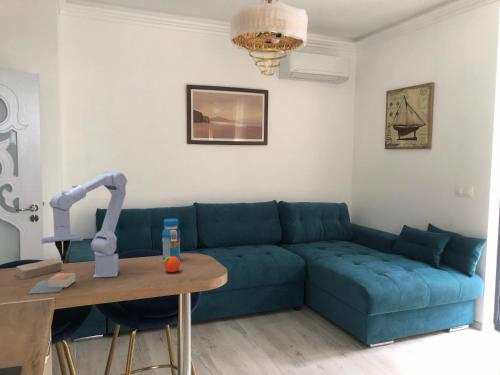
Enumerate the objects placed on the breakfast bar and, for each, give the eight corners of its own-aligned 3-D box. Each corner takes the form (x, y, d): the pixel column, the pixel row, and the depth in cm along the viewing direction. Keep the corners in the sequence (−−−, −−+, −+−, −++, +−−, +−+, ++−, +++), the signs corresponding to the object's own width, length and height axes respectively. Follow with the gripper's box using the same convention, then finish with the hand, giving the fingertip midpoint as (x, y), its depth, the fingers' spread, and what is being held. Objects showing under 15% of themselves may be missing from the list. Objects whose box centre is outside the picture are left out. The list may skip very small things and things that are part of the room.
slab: (75, 273, 168) (57, 273, 168) (66, 279, 160) (48, 279, 160) (75, 280, 169) (58, 280, 169) (66, 287, 161) (48, 287, 161)
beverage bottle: (159, 262, 197) (159, 220, 195) (166, 258, 206) (165, 217, 204) (176, 263, 196) (176, 221, 194) (182, 258, 204) (182, 218, 202)
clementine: (167, 275, 177) (167, 259, 176) (159, 272, 182) (158, 256, 181) (183, 272, 182) (183, 256, 182) (175, 268, 187) (174, 253, 187)
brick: (22, 280, 171) (22, 269, 171) (14, 276, 176) (14, 265, 176) (62, 271, 184) (62, 261, 183) (53, 268, 189) (53, 257, 189)
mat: (68, 280, 170) (68, 279, 170) (59, 292, 156) (59, 291, 156) (40, 281, 168) (39, 280, 168) (27, 294, 154) (27, 293, 154)
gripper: (81, 222, 168) (82, 255, 169) (41, 225, 161) (42, 259, 163) (82, 225, 161) (83, 259, 162) (40, 228, 155) (42, 264, 156)
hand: (63, 260), depth 162 cm, fingers closed
